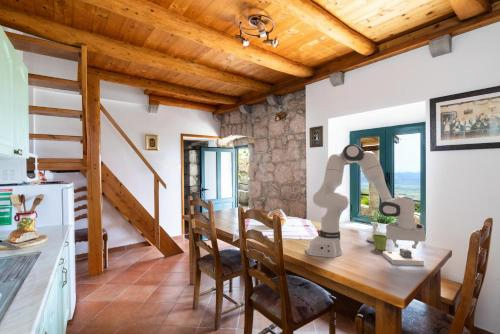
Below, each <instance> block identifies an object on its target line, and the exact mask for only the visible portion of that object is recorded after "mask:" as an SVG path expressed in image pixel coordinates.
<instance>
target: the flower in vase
mask: <svg viewBox="0 0 500 334" xmlns="http://www.w3.org/2000/svg"><path fill="white" fill-rule="evenodd" d="M373 213H374V208H372V207H368V208H366V209H365V210H364V211H363V215H364V216H366V217H369V216H370V217H369V218H367V219H365V221H367V222H370V224H371V225H372V233H370V234H369V235H367V236H366V237H365V238H366V240H367V241H369V242H372V243H374V239H373V237H372V235H374V234H378V233H377V226H378V225H379V222H377V221H378V217H375V218H372V214H373Z"/></svg>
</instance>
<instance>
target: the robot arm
mask: <svg viewBox="0 0 500 334" xmlns="http://www.w3.org/2000/svg"><path fill="white" fill-rule="evenodd" d="M354 163H355V164H358V165H359V167H360V168H361V172H362V174H363V175H364V178H365V179H366V181H367V182H368V183H370V184H371V185H372V186H373V187H374V188H375V189H376V191H377V193H378V196H379V198H380V200H381V202H380V204H379V205H378V211H379V213H380V214H381V216H384V217H386V218H390V217H396V223H395V222H394V223H392V222H391V223H390V222H389V223H387V224H386V226H385V229H386V231H385V235H386V237H387V240H390V241H391V240H392V243H393V244H394V248H399V244H398V243H397V241H408V242H410V241H411V242H414V243H413V244H411V248H412V249H413V250H415V249H417V246H418V245H419V242H425V241H426V239H427V236H426V230H425V225H424V224H421V223H419V222H417V221H415V217H414V216H415V202H414V199H413V198H412V197H409V196H407V195H397V196H396V197H393V196H392V193H391V192H390V190H389V187H388V186H387V183H386V180H385V175H384V170H383V168H382V166H381V163H380V161H379V160H378V158H377V156H376V154H375V153H374V152H373V151H370V150H369V151H368V150H367V151H365V150H364V149H363V148H361V147H360V146H359V145H357V144H354V143H350V144H348V145H346V146H345V147H343V149H342V151H341V152H340V154H339V153H334V154H331V155H330V156H329V157H328V160H327V162H326V166H325V172H324V173H325V174H324V178H323V182H322V184H321V186H320V188H319V189H318V190H317V191H316V192H315V193H314V195H312V196H313V197H312V201H313V204H314V205H316V206H317V207H319V208H323V209H326V213H325V214H324V215H323V216H321V219H320V224H321V225H320V226H321V229H316V233H317V236H316V237H314V238H313V239H311V240H310V241H309V246H308V247H306V248H305V253H306V254H307V255H308V256H314V257H323V258H333V259H335V258H337V257H339V256H342V255H343V251H342V248H341V231H340V218H341V216H342V214H343V212H344V211H345V210H347V208H348V206H349V199H348V197H347V196H346V195H345V194H343V193H339V192H336V190H337V188H338V187H341V185H342V184H343V183H342V182H343V177H344V169H345V166H346V165H347V166H348V165H352V164H354Z"/></svg>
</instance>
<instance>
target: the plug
mask: <svg viewBox="0 0 500 334" xmlns="http://www.w3.org/2000/svg"><path fill="white" fill-rule="evenodd" d="M399 252H400V255H401V256H402V257H403V258H412V252H413V251H411V250H410V249H408V248H399Z"/></svg>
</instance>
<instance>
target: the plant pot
mask: <svg viewBox="0 0 500 334" xmlns="http://www.w3.org/2000/svg"><path fill="white" fill-rule="evenodd" d="M372 237H373V239H374V242H373V243H374V249H375V250H377V251H386V248H387V242H388V241H387V240H388V238H387V237H386V234H380V233H377V234H374V235H372Z"/></svg>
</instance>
